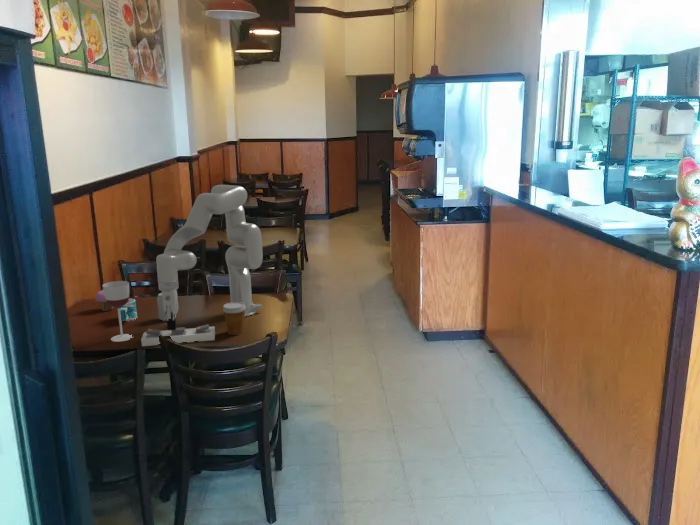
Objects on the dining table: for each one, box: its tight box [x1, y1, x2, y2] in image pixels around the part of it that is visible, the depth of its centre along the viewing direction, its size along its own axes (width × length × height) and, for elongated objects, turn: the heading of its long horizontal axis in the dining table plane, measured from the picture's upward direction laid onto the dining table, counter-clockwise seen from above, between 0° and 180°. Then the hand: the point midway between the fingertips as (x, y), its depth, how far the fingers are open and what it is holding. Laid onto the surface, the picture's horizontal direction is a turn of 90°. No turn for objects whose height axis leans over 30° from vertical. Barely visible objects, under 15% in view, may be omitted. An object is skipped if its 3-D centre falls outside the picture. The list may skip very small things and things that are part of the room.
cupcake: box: [95, 289, 114, 312], centre depth 271 cm, size 9×9×10 cm
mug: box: [116, 298, 138, 322], centre depth 256 cm, size 8×12×8 cm
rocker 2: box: [195, 323, 210, 332], centre depth 232 cm, size 5×3×1 cm, turn 101°
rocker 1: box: [146, 328, 162, 335], centre depth 229 cm, size 5×3×1 cm, turn 101°
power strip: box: [140, 326, 216, 347], centre depth 232 cm, size 28×8×3 cm, turn 101°
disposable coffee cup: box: [222, 301, 246, 336], centre depth 238 cm, size 10×10×12 cm
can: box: [156, 292, 177, 322], centre depth 256 cm, size 8×8×12 cm
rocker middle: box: [171, 326, 186, 333], centre depth 230 cm, size 5×3×1 cm, turn 101°
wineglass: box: [102, 280, 134, 343], centre depth 233 cm, size 9×10×23 cm
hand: (172, 329), depth 230 cm, fingers closed
